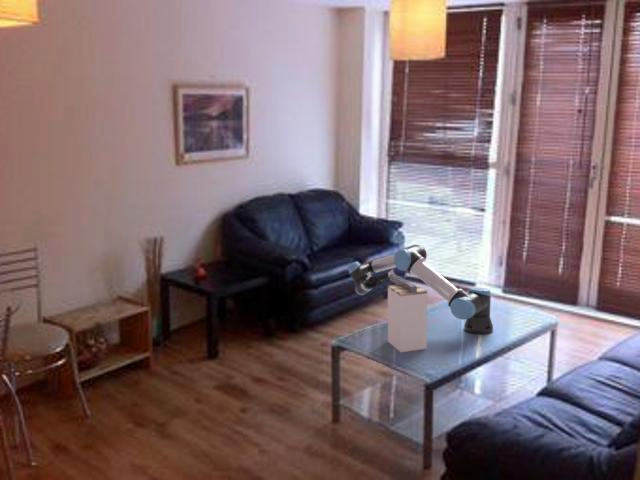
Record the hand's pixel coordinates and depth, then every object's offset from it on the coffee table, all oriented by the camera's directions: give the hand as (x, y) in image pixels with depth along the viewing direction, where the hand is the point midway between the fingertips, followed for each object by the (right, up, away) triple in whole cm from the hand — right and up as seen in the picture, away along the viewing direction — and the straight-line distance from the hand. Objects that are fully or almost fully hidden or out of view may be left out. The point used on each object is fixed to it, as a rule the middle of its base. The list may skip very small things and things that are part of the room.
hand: (381, 273), depth 350 cm
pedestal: (+10, -35, -25) cm, 44 cm away
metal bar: (+8, -5, -26) cm, 28 cm away
